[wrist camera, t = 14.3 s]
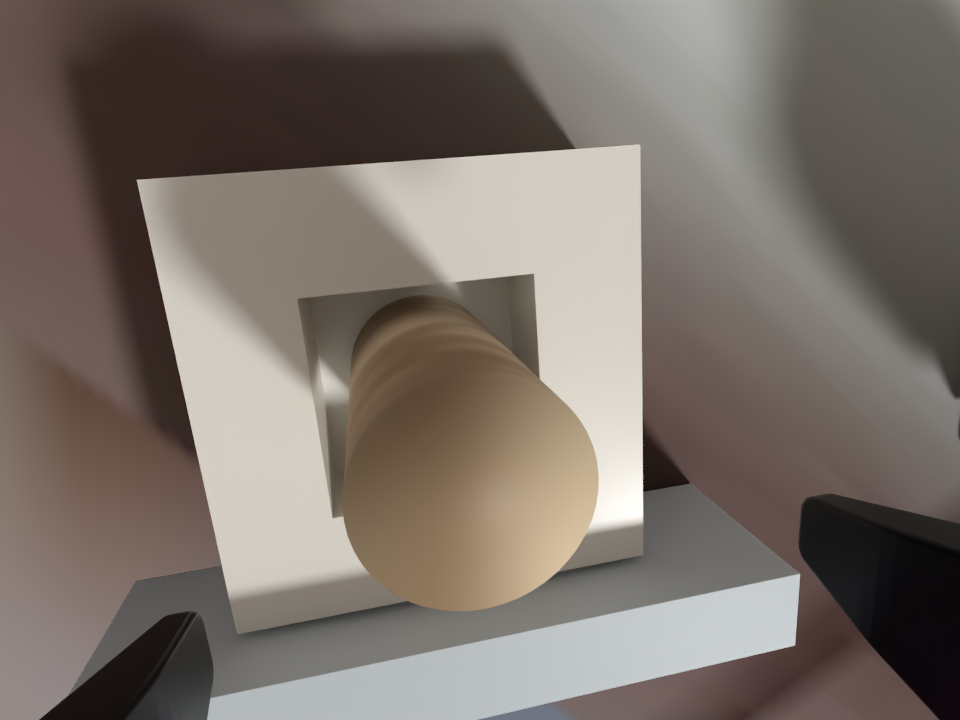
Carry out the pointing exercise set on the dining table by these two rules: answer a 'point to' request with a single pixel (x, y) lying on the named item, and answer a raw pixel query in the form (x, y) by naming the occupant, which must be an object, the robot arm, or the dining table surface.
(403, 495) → the dowel
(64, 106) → the dining table surface
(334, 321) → the socket block
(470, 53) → the dining table surface
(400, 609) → the board
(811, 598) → the dining table surface
